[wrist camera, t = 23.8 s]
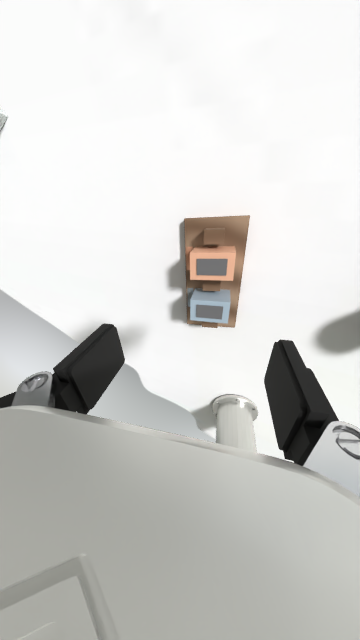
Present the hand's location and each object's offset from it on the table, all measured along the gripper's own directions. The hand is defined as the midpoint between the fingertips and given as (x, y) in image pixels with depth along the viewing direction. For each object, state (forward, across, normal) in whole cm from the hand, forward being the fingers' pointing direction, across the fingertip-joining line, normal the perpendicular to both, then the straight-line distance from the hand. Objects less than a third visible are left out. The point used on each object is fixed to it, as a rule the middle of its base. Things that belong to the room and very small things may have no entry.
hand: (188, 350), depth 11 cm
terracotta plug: (+24, 0, 0) cm, 24 cm away
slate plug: (+24, 0, +7) cm, 25 cm away
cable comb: (+26, 0, +4) cm, 26 cm away
